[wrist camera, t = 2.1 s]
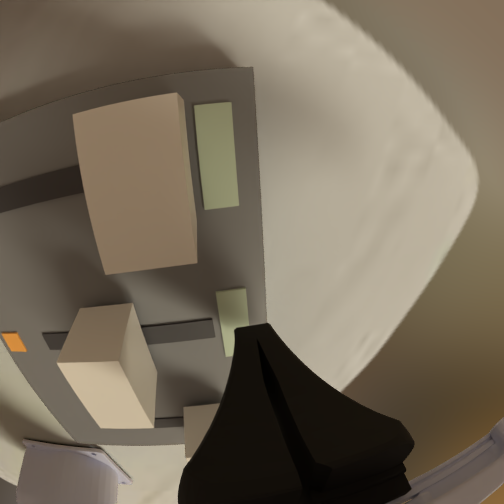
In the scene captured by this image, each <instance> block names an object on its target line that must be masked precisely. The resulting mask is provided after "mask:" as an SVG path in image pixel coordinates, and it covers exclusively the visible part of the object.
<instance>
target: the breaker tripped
mask: <svg viewBox="0 0 504 504" xmlns="http://www.w3.org/2000/svg"><path fill="white" fill-rule="evenodd" d="M56 363H57V365H58V366H59V368H60V370H61V371H62V373H63V375H64V376H65V378H66V379H67V381H68V383H69V384H70V386H71V387H72V389H73V390H74V392H75V393H76V395H77V396H78V398H79V399H80V401H81V402H82V403H83V405H84V406H85V408H86V409H87V410H88V412H89V413H90V415H91V416H92V417H93V419H94V420H95V421H96V423H97V424H98V425H99V427H100V428H111V429H142V428H154V419H155V399H156V383H157V370H156V367H155V365H154V362H153V360H152V357H151V354H150V352H149V349H148V346H147V344H146V341H145V338H144V335H143V332H142V329H141V326H140V324H139V321H138V318H137V315H136V311H135V308H134V305H133V303H127V304H118V305H108V306H98V307H87V308H80V309H79V312H78V314H77V316H76V318H75V320H74V322H73V325H72V327H71V329H70V331H69V334H68V336H67V338H66V341H65V343H64V345H63V348H62V350H61V352H60V355H59V357H58V360H57V362H56Z"/></svg>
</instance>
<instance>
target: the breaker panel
mask: <svg viewBox="0 0 504 504" xmlns="http://www.w3.org/2000/svg"><path fill="white" fill-rule="evenodd" d="M176 92H177V93H178V94H179V95H180V96H181V98H182V99H183V100H184V108H185V119H186V130H187V140H188V150H189V159H190V168H191V177H192V186H193V194H194V202H195V210H196V217H197V263H194V264H187V265H179V266H171V267H164V268H156V269H148V270H140V271H133V272H125V273H117V274H109V275H105V272H104V268H103V265H102V261H101V258H100V254H99V251H98V247H97V244H96V240H95V236H94V232H93V228H92V224H91V220H90V216H89V211H88V207H87V202H86V198H85V193H84V188H83V183H82V177H81V172H80V166H79V160H78V154H77V147H76V140H75V132H74V124H73V115H72V114H76V113H79V112H83V111H87V110H90V109H94V108H98V107H102V106H107V105H111V104H115V103H120V102H125V101H129V100H134V99H140V98H145V97H151V96H157V95H163V94H169V93H176ZM127 303H133V305H134V308H135V311H136V315H137V318H138V321H139V324H140V326H141V329H142V332H143V335H144V338H145V341H146V344H147V346H148V349H149V352H150V354H151V357H152V360H153V362H154V365H155V367H156V370H157V383H156V399H155V419H154V428H142V429H111V428H100V427H99V425H98V424H97V423H96V421H95V420H94V419H93V417H92V416H91V415H90V413H89V412H88V410H87V409H86V408H85V406H84V405H83V403H82V402H81V401H80V399H79V398H78V396H77V395H76V393H75V392H74V390H73V389H72V387H71V386H70V384H69V383H68V381H67V379H66V378H65V376H64V375H63V373H62V371H61V370H60V368H59V366H58V365H57V363H56V362H57V360H58V357H59V355H60V352H61V350H62V348H63V345H64V343H65V341H66V338H67V336H68V334H69V331H70V329H71V327H72V325H73V322H74V320H75V318H76V316H77V314H78V312H79V309H80V308H87V307H98V306H108V305H118V304H127ZM263 323H267V312H266V289H265V268H264V247H263V227H262V208H261V189H260V171H259V154H258V137H257V120H256V104H255V89H254V74H253V67H237V68H221V69H209V70H199V71H190V72H182V73H174V74H167V75H161V76H155V77H149V78H143V79H138V80H133V81H128V82H124V83H119V84H115V85H110V86H106V87H102V88H98V89H94V90H91V91H87V92H83V93H80V94H76V95H73V96H70V97H66V98H63V99H60V100H57V101H54V102H51V103H48V104H45V105H42V106H40V107H37V108H34V109H32V110H29V111H26V112H24V113H21V114H19V115H16V116H14V117H12V118H9V119H7V120H5V121H2V122H0V338H1V340H2V342H3V343H4V345H5V347H6V349H7V350H8V352H9V354H10V355H11V357H12V358H13V360H14V362H15V363H16V365H17V366H18V368H19V369H20V371H21V372H22V374H23V375H24V377H25V378H26V380H27V381H28V383H29V384H30V386H31V387H32V388H33V390H34V391H35V392H36V394H37V395H38V397H39V398H40V399H41V401H42V402H43V403H44V404H45V406H46V407H47V408H48V410H49V411H50V412H51V413H52V415H53V416H54V417H55V418H56V419H57V421H58V422H59V423H60V424H61V425H62V427H63V428H64V429H65V430H66V431H67V432H68V433H69V435H70V436H71V437H72V438H73V439H74V440H75V441H76V442H77V443H84V444H98V445H122V446H153V445H178V444H185V437H184V411H183V407H190V406H200V405H209V404H217V403H220V402H221V399H222V397H223V394H224V391H225V388H226V384H227V380H228V377H229V373H230V369H231V364H232V358H233V352H234V342H235V337H234V330H235V329H236V328H237V327H244V326H251V325H257V324H263Z"/></svg>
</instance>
